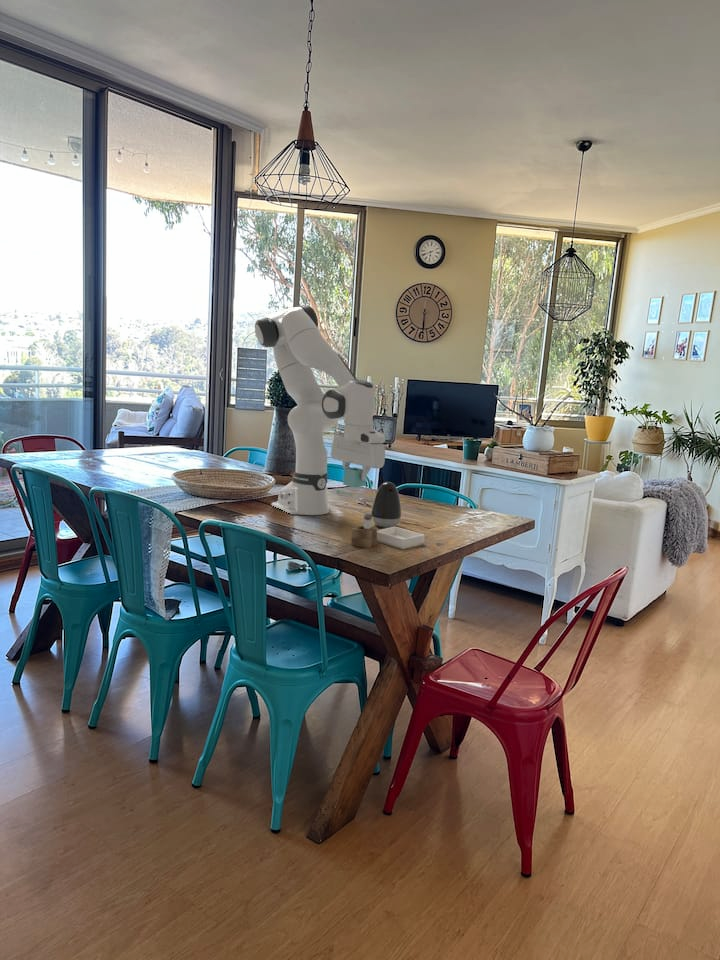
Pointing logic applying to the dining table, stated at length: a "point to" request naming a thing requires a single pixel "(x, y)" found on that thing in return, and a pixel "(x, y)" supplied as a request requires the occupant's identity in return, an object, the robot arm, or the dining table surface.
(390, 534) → the tray
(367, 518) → the pin gauge
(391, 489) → the dark grey egg shape
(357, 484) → the teal block
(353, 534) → the walnut block
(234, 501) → the dining table surface
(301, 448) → the robot arm
